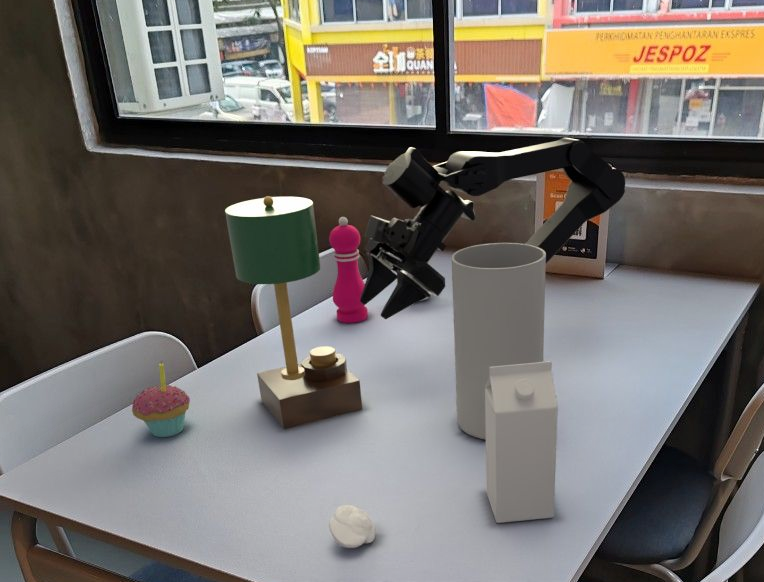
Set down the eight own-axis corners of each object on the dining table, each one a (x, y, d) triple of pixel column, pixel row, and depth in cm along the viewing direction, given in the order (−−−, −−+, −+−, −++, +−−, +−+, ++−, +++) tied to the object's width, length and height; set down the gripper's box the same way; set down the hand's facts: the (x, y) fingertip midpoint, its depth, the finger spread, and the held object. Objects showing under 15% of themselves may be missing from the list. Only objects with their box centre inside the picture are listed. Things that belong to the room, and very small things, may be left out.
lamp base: (335, 383, 139) (330, 344, 136) (362, 409, 130) (358, 368, 126) (261, 401, 135) (254, 361, 131) (284, 429, 126) (277, 387, 122)
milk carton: (486, 494, 106) (484, 355, 96) (540, 488, 106) (544, 350, 96) (496, 524, 100) (495, 379, 90) (554, 518, 100) (559, 373, 90)
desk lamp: (317, 354, 132) (295, 183, 119) (344, 380, 123) (324, 196, 109) (244, 371, 128) (213, 195, 115) (267, 398, 119) (236, 210, 105)
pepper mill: (365, 324, 164) (356, 221, 153) (330, 323, 165) (319, 221, 155) (374, 312, 170) (365, 212, 159) (340, 311, 171) (329, 212, 161)
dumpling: (342, 526, 102) (347, 497, 101) (380, 539, 101) (386, 511, 99) (317, 548, 96) (321, 518, 94) (357, 563, 95) (362, 533, 93)
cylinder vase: (531, 447, 116) (534, 270, 103) (446, 437, 120) (439, 267, 107) (549, 409, 126) (554, 244, 113) (470, 401, 130) (466, 241, 117)
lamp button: (331, 356, 132) (329, 344, 131) (340, 364, 129) (338, 352, 128) (307, 361, 131) (306, 349, 130) (316, 370, 128) (314, 357, 127)
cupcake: (205, 421, 130) (190, 349, 124) (175, 446, 123) (158, 371, 117) (159, 416, 133) (141, 346, 126) (127, 440, 126) (107, 367, 120)
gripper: (370, 184, 130) (313, 267, 132) (421, 205, 115) (357, 297, 117) (418, 227, 137) (363, 304, 139) (472, 251, 122) (410, 338, 124)
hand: (372, 310), depth 130 cm, fingers open, 8 cm apart
